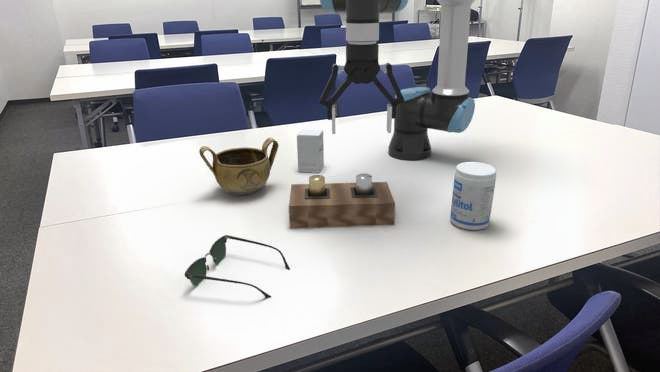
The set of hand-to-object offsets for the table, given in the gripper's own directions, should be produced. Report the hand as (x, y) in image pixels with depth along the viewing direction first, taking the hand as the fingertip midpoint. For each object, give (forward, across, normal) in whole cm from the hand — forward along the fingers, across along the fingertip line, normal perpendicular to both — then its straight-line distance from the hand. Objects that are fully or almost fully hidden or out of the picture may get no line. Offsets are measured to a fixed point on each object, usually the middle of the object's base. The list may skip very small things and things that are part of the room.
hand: (361, 132), depth 117 cm
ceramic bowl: (+22, +33, -17) cm, 44 cm away
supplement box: (+22, +14, -34) cm, 43 cm away
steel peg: (+17, -1, +1) cm, 17 cm away
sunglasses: (+23, +27, +29) cm, 45 cm away
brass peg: (+17, +11, +1) cm, 20 cm away
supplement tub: (+22, -27, +7) cm, 36 cm away
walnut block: (+22, +5, 0) cm, 23 cm away
